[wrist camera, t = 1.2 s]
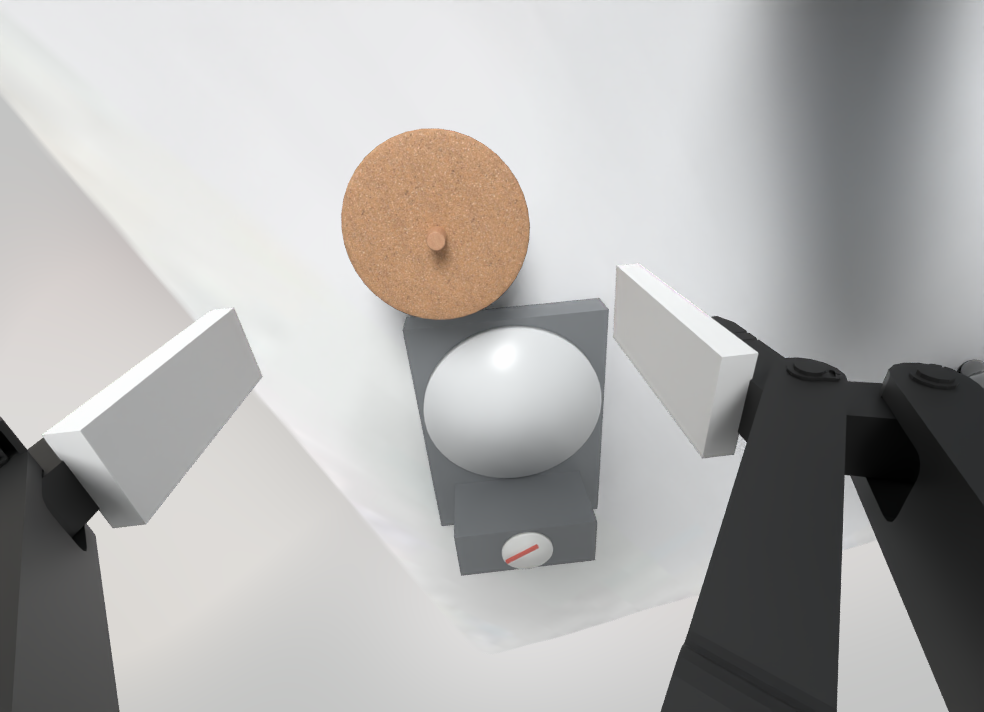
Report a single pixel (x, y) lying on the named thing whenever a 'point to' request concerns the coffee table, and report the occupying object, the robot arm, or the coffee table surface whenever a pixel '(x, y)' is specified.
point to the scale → (514, 429)
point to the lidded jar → (435, 224)
